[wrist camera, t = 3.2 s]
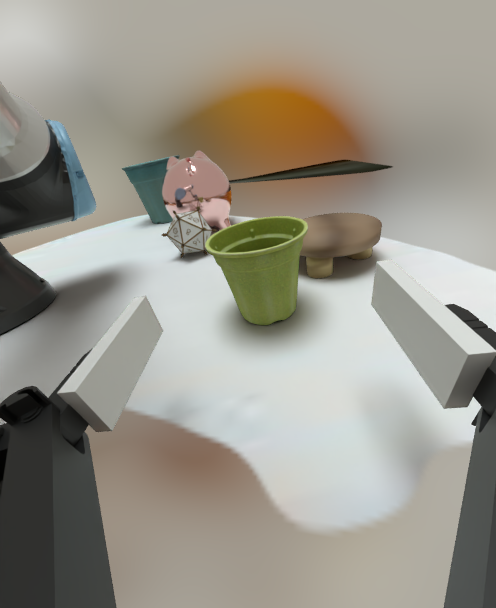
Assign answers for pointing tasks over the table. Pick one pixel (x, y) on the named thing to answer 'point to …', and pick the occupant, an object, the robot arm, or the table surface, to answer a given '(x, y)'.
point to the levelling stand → (338, 240)
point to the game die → (189, 232)
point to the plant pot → (261, 265)
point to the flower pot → (151, 187)
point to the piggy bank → (197, 189)
